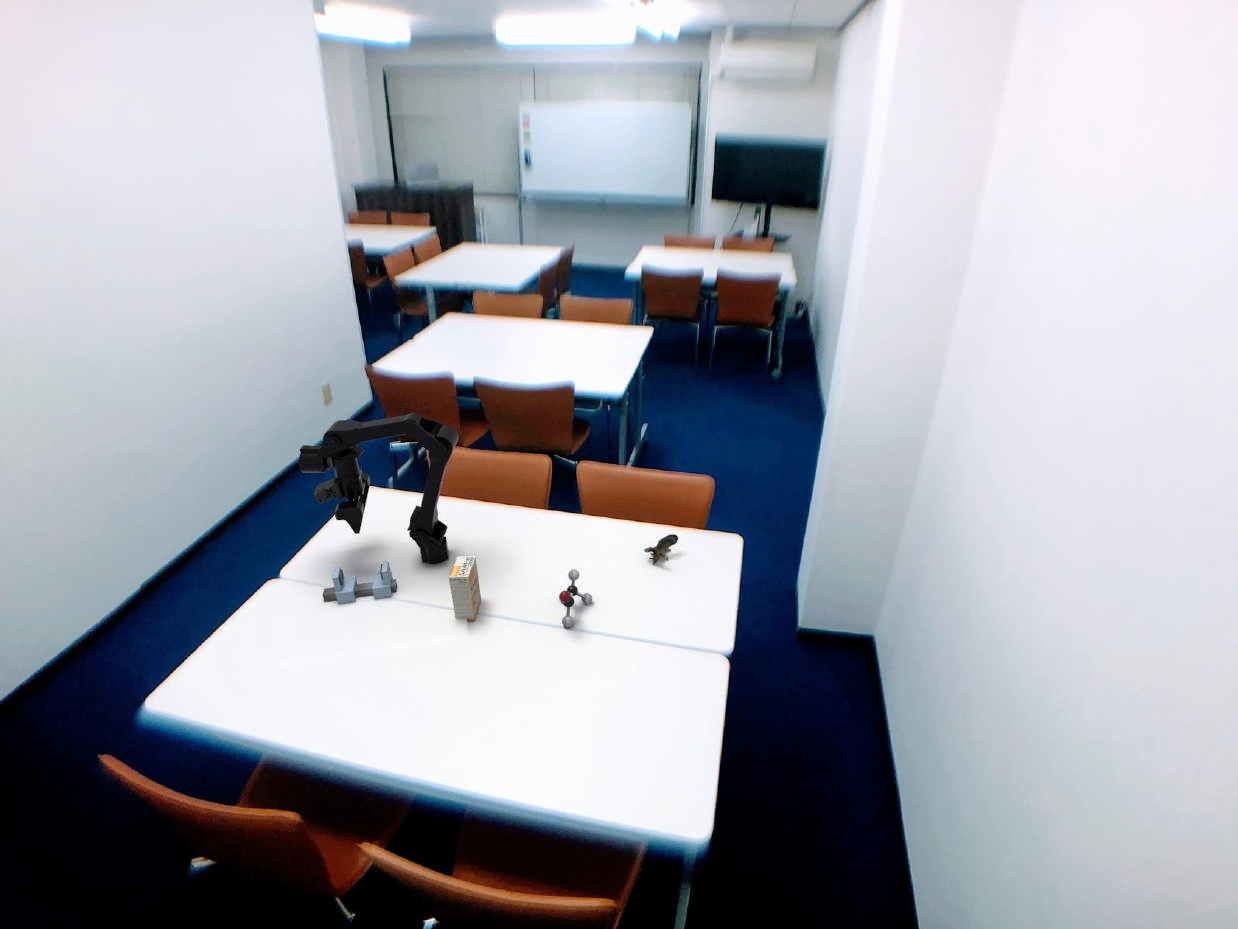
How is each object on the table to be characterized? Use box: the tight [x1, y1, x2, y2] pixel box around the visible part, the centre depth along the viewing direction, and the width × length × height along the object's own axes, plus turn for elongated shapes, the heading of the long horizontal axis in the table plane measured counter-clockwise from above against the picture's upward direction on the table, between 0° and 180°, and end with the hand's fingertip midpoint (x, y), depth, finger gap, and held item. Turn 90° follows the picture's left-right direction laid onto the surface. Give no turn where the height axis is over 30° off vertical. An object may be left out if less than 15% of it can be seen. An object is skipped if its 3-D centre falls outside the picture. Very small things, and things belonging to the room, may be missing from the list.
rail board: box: [322, 578, 398, 603], centre depth 171 cm, size 18×9×3 cm, turn 102°
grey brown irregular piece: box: [643, 533, 679, 566], centre depth 182 cm, size 8×7×9 cm
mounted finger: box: [372, 560, 394, 600], centre depth 170 cm, size 4×6×7 cm, turn 12°
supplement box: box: [448, 556, 482, 622], centre depth 163 cm, size 8×5×13 cm, turn 179°
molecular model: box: [558, 569, 593, 628], centre depth 162 cm, size 8×12×11 cm
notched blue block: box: [331, 566, 359, 605], centre depth 168 cm, size 4×6×7 cm, turn 12°
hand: (359, 523), depth 178 cm, fingers open, 9 cm apart
